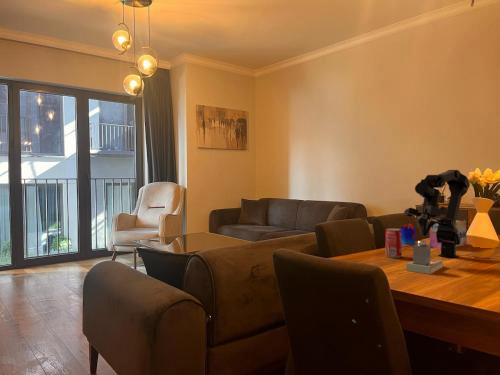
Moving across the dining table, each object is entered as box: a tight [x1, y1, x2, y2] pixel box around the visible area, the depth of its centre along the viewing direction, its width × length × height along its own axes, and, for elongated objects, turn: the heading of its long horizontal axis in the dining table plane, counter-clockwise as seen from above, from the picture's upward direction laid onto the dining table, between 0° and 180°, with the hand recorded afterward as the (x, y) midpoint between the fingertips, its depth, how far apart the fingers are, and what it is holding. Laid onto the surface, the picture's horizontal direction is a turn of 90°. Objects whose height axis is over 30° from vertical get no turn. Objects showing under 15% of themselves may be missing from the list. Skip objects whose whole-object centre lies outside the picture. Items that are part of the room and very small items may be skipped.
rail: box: [405, 259, 445, 275], centre depth 159 cm, size 17×9×3 cm, turn 137°
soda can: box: [385, 228, 403, 259], centre depth 181 cm, size 7×7×13 cm
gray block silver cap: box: [412, 240, 432, 266], centre depth 155 cm, size 5×5×10 cm
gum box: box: [429, 219, 467, 250], centre depth 209 cm, size 24×8×14 cm, turn 123°
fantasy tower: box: [400, 223, 417, 248], centre depth 212 cm, size 12×12×12 cm
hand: (424, 236), depth 166 cm, fingers closed
